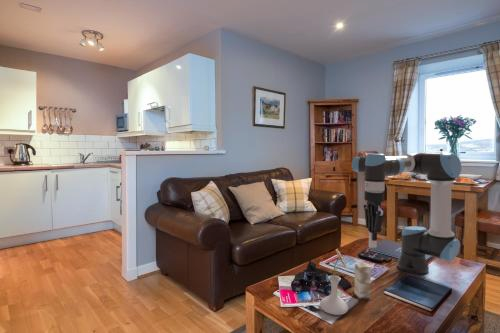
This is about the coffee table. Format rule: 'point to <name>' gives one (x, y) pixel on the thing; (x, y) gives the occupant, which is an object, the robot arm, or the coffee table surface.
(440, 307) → the coffee table surface
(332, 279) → the flower in vase
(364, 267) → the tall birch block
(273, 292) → the coffee table surface
